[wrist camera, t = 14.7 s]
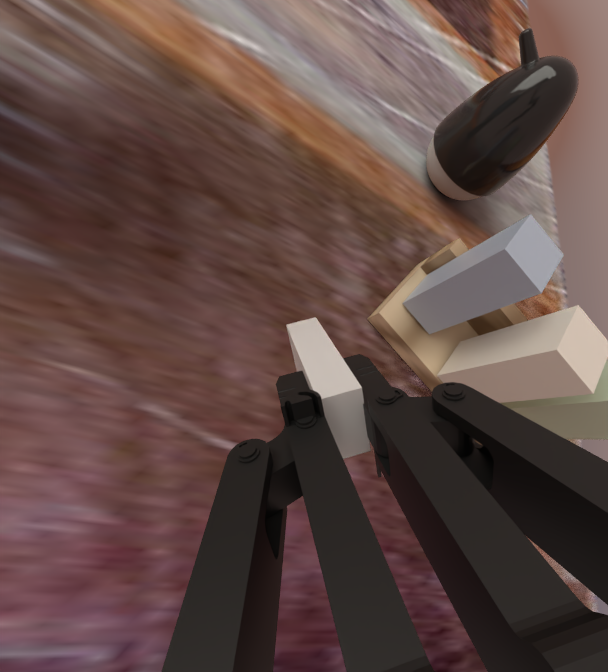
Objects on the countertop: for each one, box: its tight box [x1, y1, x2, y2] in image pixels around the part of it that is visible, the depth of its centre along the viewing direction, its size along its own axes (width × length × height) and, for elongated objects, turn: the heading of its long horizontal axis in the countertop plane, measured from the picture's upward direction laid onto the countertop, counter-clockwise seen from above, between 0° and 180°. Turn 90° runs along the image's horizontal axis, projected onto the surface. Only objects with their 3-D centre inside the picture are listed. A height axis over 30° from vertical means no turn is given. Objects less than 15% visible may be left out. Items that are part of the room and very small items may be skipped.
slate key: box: [402, 214, 564, 334], centre depth 30 cm, size 4×5×11 cm
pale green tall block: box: [500, 359, 608, 439], centre depth 31 cm, size 4×5×11 cm
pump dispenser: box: [426, 28, 578, 200], centre depth 38 cm, size 10×10×15 cm
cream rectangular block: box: [437, 305, 608, 403], centre depth 29 cm, size 4×5×11 cm
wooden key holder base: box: [368, 238, 528, 445], centre depth 35 cm, size 20×10×6 cm, turn 47°
